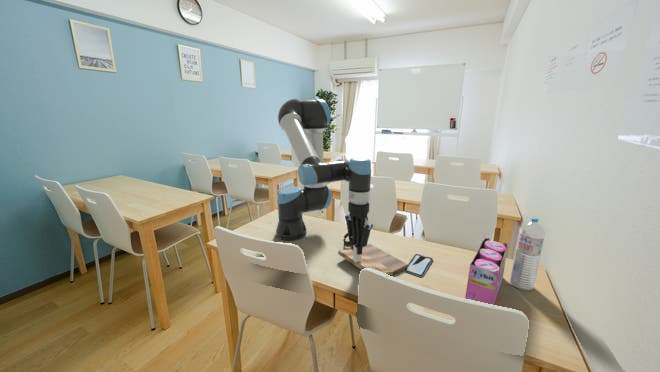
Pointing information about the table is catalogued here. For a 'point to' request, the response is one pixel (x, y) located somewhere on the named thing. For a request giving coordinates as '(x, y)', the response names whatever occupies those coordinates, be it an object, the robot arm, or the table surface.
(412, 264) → the smartphone
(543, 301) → the table surface
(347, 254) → the plank
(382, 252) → the floor boards
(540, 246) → the water bottle
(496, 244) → the gum box
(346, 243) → the pottery mug
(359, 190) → the robot arm
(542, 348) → the table surface
